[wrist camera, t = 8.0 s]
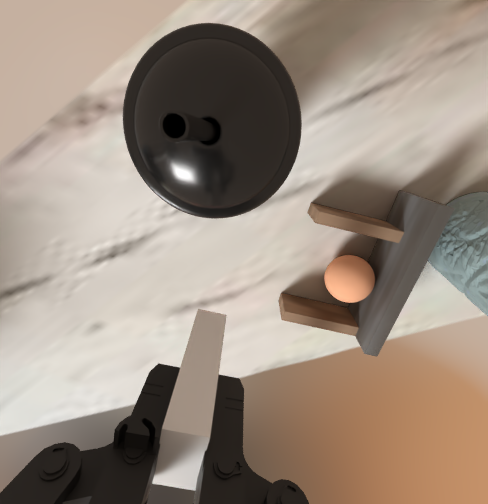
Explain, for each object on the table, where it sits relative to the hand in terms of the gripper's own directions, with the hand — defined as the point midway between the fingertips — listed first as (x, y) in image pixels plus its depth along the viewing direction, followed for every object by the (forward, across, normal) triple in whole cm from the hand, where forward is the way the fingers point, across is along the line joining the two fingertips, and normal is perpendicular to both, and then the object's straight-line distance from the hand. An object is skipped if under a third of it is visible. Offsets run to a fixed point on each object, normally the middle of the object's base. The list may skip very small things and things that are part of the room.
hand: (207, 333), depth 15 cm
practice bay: (+14, +11, +2) cm, 18 cm away
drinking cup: (+15, -2, +10) cm, 18 cm away
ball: (+12, +12, 0) cm, 17 cm away
